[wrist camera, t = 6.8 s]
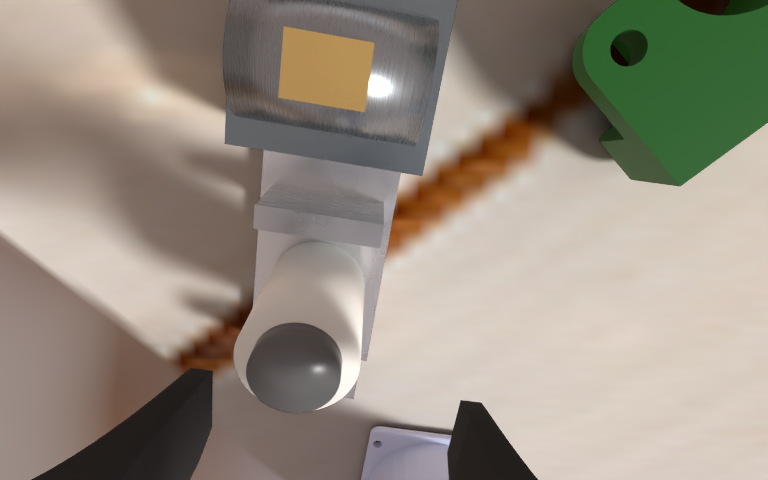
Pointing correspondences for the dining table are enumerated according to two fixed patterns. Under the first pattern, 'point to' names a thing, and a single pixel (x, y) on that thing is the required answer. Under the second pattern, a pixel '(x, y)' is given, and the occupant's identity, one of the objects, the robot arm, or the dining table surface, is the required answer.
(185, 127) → the dining table surface
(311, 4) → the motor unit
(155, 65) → the dining table surface
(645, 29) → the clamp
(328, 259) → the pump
